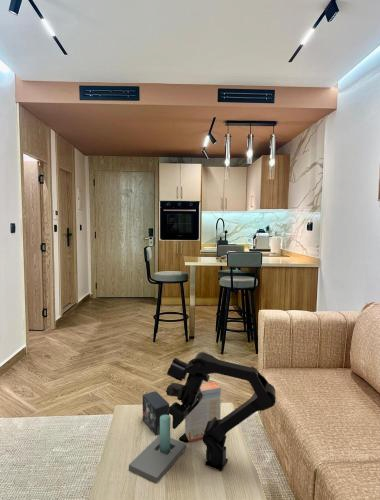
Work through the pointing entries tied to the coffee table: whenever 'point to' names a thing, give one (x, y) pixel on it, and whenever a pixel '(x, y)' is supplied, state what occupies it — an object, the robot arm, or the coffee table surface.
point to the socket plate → (156, 460)
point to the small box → (154, 410)
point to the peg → (165, 434)
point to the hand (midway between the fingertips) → (179, 422)
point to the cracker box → (203, 411)
